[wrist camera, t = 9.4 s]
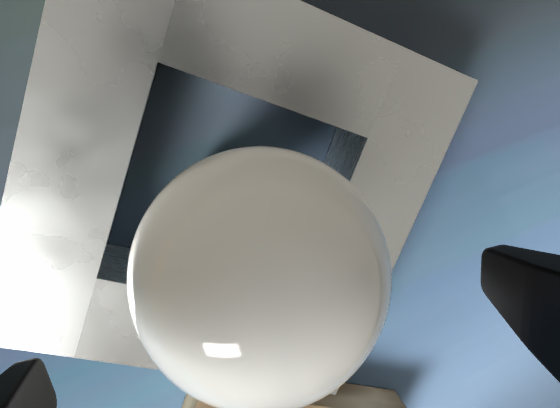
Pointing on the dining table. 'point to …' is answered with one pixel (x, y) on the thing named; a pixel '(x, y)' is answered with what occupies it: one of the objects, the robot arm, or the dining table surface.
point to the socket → (127, 120)
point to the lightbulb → (259, 279)
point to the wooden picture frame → (338, 399)
